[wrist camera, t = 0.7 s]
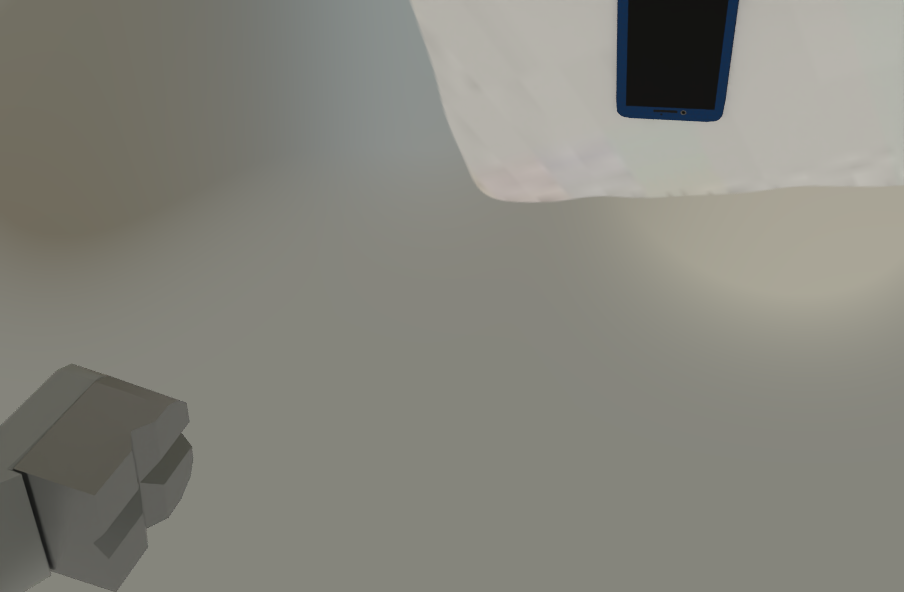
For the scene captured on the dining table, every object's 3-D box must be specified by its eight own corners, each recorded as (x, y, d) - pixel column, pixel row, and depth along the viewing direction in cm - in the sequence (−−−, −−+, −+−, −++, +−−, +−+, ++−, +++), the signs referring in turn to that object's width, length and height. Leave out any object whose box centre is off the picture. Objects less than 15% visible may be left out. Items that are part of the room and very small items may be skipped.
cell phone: (748, -76, 48) (748, -70, 48) (722, 117, 59) (722, 124, 58) (619, -75, 50) (617, -69, 49) (617, 112, 61) (615, 118, 60)
